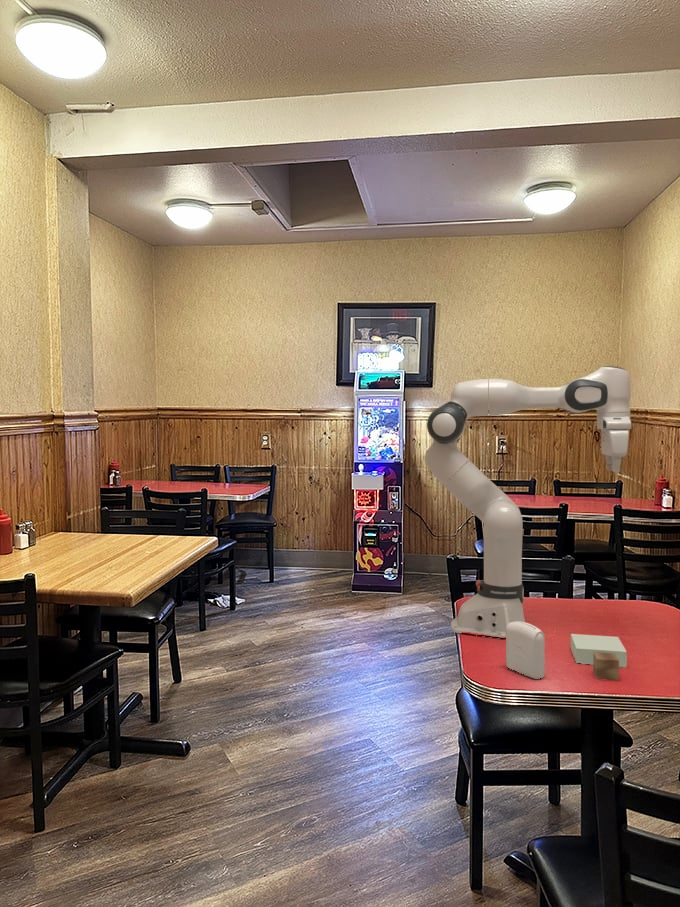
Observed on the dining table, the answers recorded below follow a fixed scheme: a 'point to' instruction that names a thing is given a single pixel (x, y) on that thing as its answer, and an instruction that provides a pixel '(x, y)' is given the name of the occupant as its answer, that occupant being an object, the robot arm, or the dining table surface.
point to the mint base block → (596, 648)
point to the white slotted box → (525, 649)
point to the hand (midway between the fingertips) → (613, 471)
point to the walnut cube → (606, 666)
